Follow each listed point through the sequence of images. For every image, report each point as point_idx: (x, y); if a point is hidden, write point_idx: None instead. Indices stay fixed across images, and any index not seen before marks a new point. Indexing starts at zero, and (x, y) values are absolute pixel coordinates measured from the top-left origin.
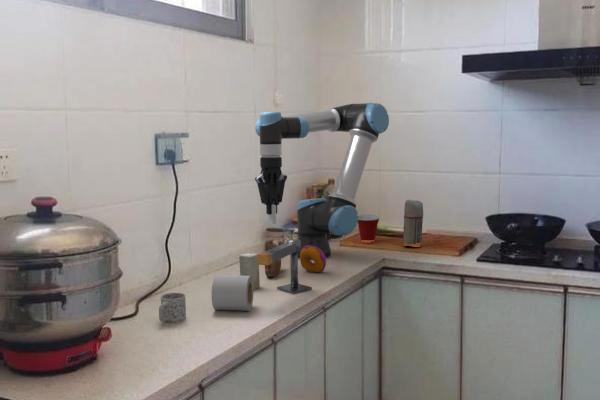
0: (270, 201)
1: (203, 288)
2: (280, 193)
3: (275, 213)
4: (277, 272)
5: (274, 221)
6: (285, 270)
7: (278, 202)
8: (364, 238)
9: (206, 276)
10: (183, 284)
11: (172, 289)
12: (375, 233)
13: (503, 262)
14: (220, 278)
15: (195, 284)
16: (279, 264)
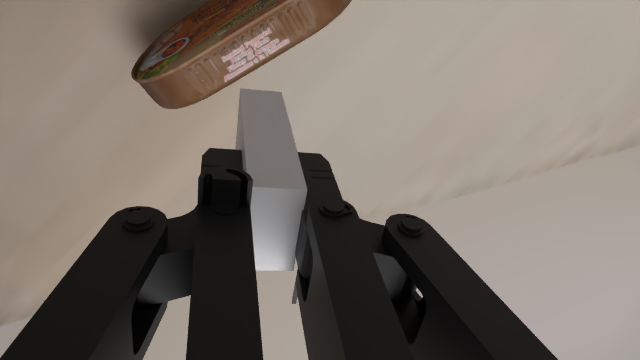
0: (348, 232)
1: (588, 63)
2: (116, 315)
3: (250, 134)
4: (215, 2)
5: (262, 99)
6: (137, 16)
7: (169, 224)
8: None
9: (437, 189)
10: (564, 159)
11: (632, 134)
12: None
13: None
14: None
15: (549, 130)
16: (158, 50)
